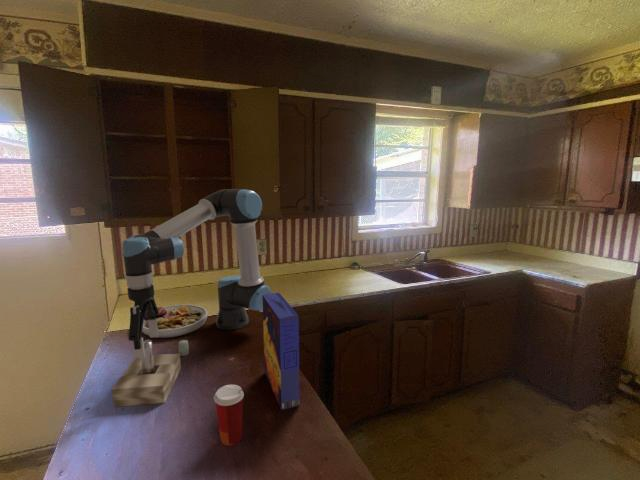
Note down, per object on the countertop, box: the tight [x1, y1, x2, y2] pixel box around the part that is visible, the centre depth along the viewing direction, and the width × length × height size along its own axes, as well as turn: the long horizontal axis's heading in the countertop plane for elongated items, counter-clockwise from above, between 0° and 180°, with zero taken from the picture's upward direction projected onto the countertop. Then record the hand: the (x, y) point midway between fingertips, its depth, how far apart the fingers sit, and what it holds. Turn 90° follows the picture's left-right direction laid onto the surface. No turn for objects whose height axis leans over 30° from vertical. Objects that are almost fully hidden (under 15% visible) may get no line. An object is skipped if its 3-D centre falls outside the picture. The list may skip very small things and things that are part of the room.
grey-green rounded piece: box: [177, 339, 190, 357], centre depth 139 cm, size 4×4×5 cm
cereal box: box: [262, 292, 301, 411], centre depth 115 cm, size 22×6×30 cm, turn 22°
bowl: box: [142, 304, 208, 339], centre depth 165 cm, size 30×30×8 cm
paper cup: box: [213, 384, 245, 447], centre depth 94 cm, size 8×8×14 cm
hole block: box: [111, 352, 182, 408], centre depth 118 cm, size 15×20×6 cm
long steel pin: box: [141, 339, 155, 375], centre depth 117 cm, size 4×4×16 cm
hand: (147, 346), depth 116 cm, fingers open, 13 cm apart
